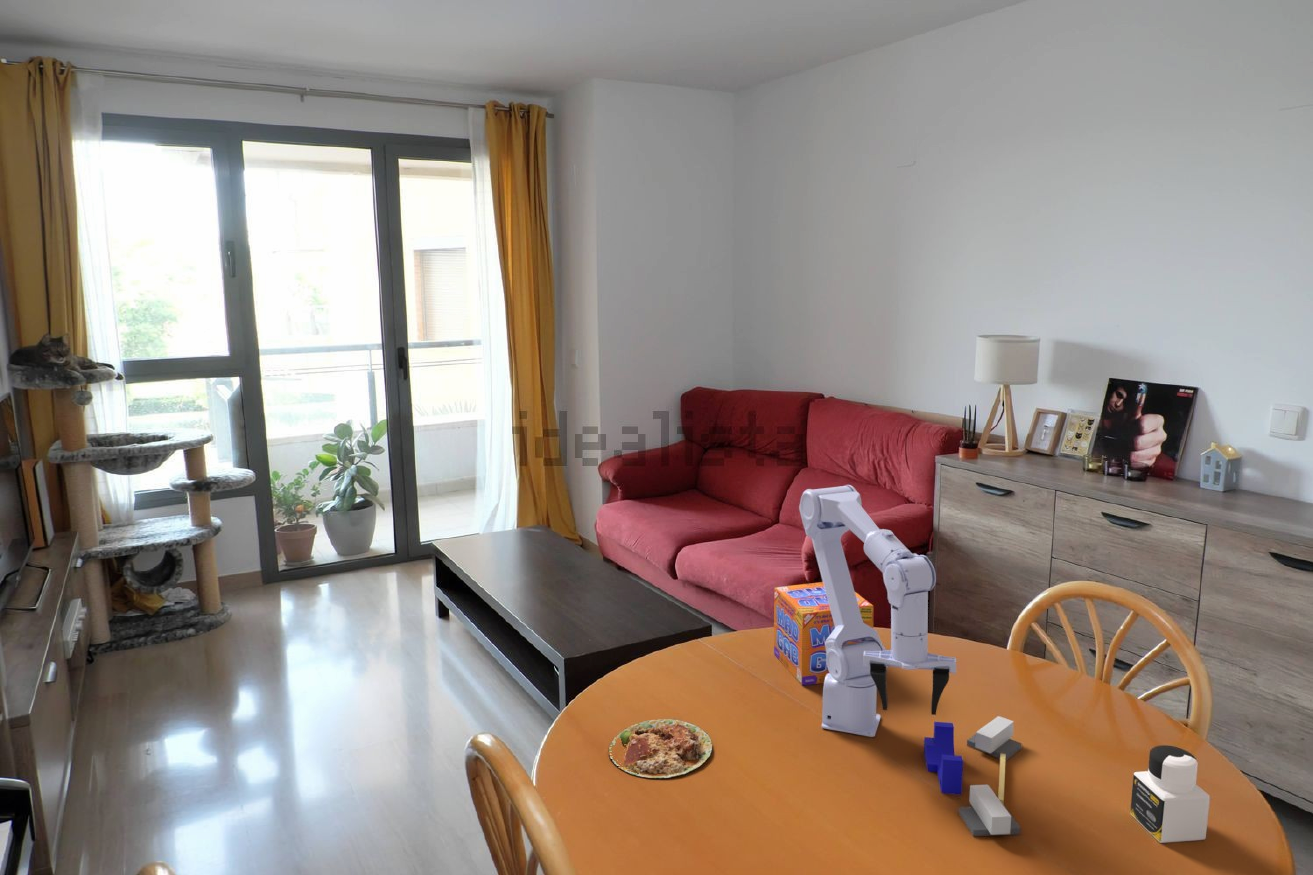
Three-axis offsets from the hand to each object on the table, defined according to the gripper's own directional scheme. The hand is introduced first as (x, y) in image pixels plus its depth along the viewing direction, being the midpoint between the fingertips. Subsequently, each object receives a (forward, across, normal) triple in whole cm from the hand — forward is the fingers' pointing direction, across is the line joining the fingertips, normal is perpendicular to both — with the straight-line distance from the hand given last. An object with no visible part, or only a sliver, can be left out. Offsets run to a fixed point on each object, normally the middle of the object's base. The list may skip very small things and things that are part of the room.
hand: (909, 709), depth 143 cm
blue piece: (+11, +5, 0) cm, 12 cm away
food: (+10, -42, -5) cm, 43 cm away
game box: (+9, -18, +36) cm, 41 cm away
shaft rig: (+11, +13, 0) cm, 17 cm away
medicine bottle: (+12, +37, -6) cm, 39 cm away
